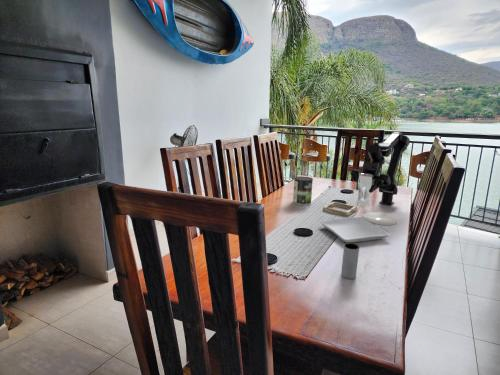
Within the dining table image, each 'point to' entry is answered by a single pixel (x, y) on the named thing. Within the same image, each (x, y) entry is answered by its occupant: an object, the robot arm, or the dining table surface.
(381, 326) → the dining table surface
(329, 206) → the beech frame
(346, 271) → the planter
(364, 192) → the steel cup
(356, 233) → the salad plate
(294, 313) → the dining table surface
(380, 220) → the white flat disc
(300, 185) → the coffee can
